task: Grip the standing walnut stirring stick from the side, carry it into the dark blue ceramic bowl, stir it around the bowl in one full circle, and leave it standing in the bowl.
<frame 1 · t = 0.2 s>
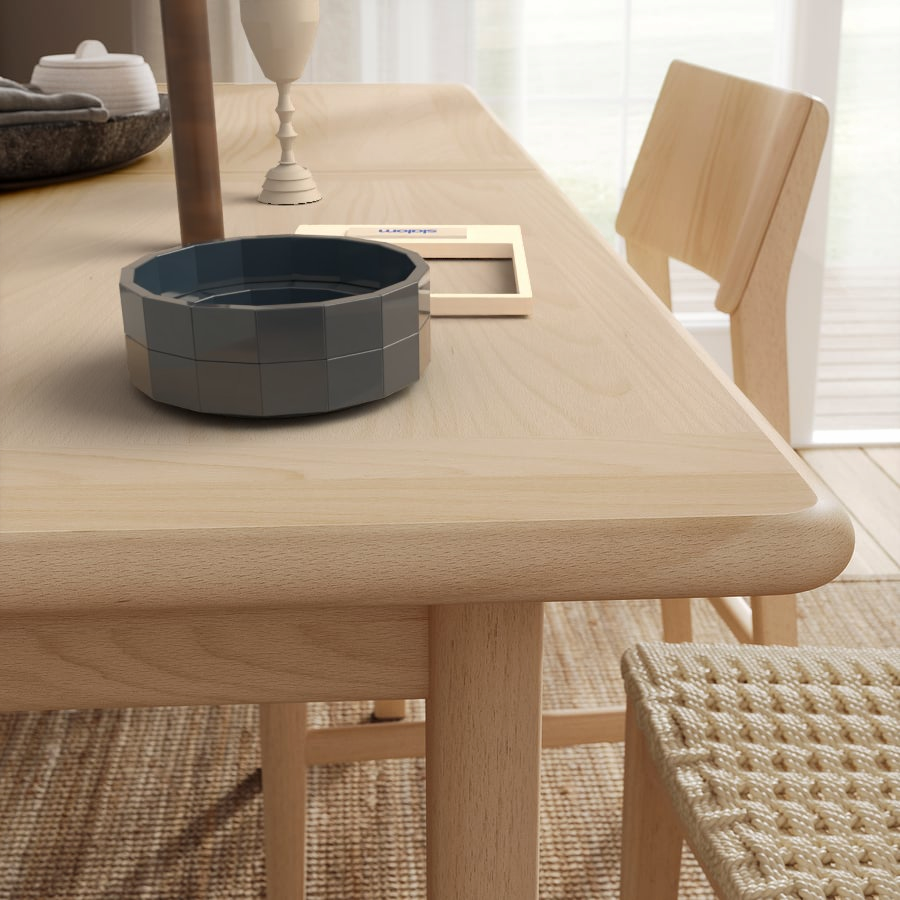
chalice: (290, 200, 92), on the table
photo frame: (402, 275, 70), on the table
bowl: (282, 375, 53), on the table
stirring stick: (203, 247, 77), on the table
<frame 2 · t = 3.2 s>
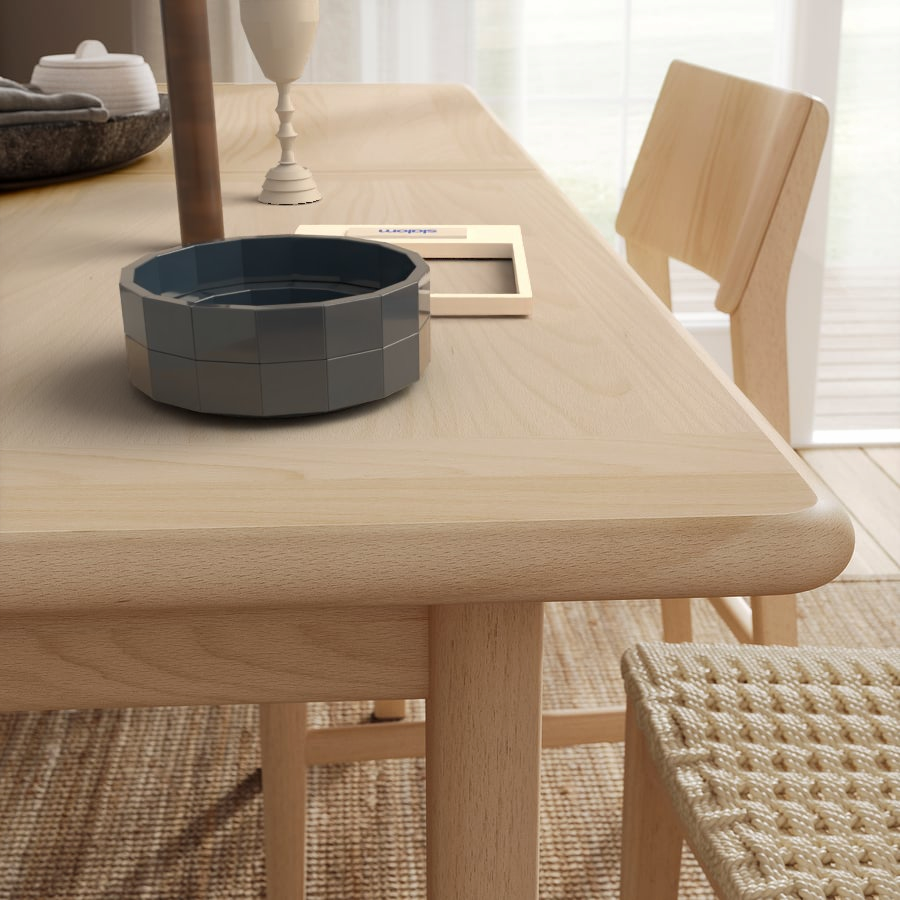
nothing on the table moved.
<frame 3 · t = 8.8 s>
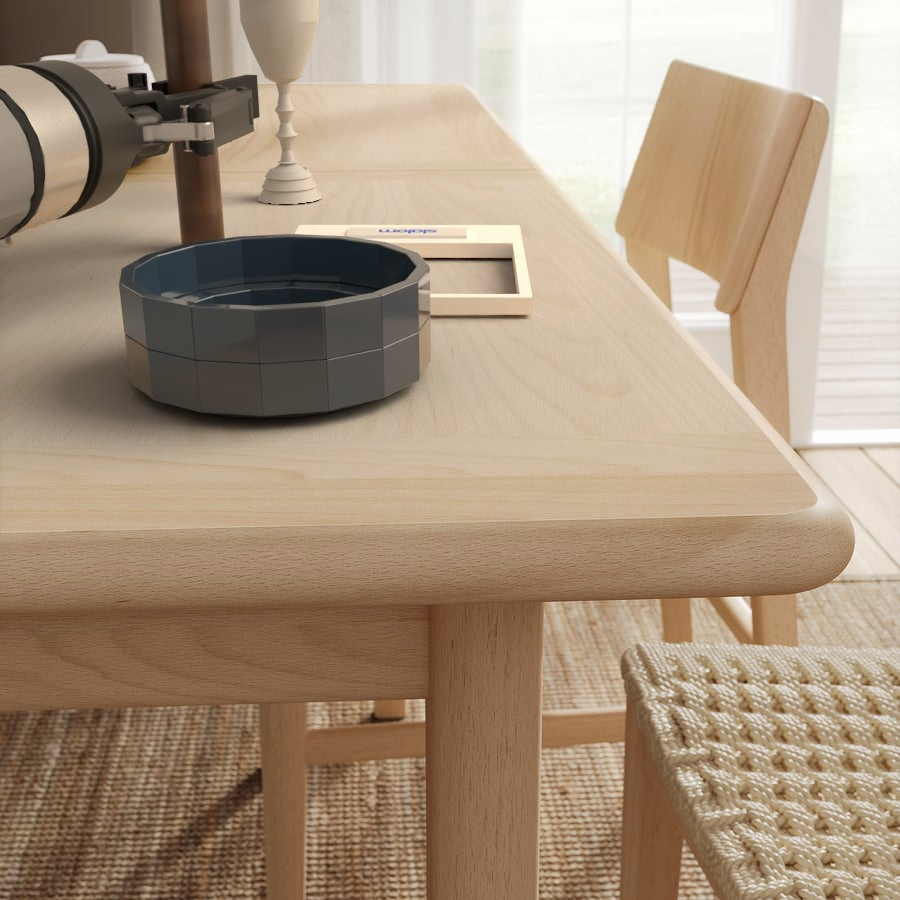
hand: (228, 95, 78), 9 cm above the table, tool horizontal, fingers closed on stirring stick, 3 cm apart
stirring stick: (203, 247, 77), on the table, touching gripper
everything else where it was.
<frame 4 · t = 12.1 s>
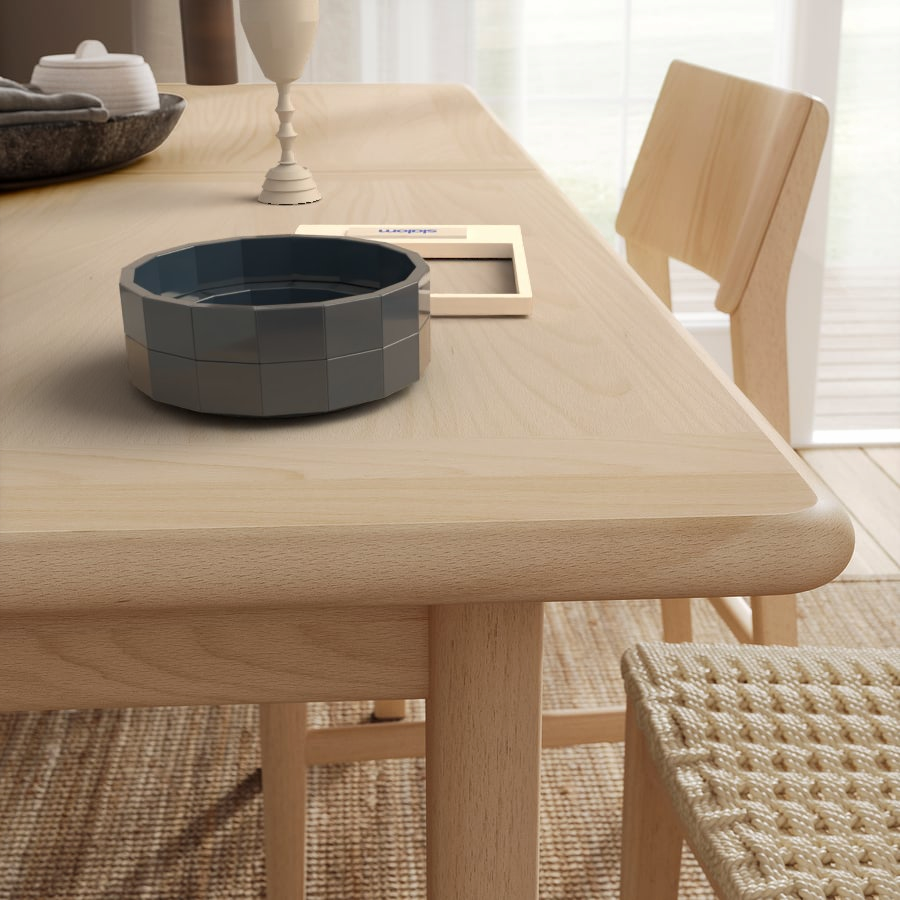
stirring stick: (212, 83, 63), point 11 cm above the table, touching gripper
everything else where it was.
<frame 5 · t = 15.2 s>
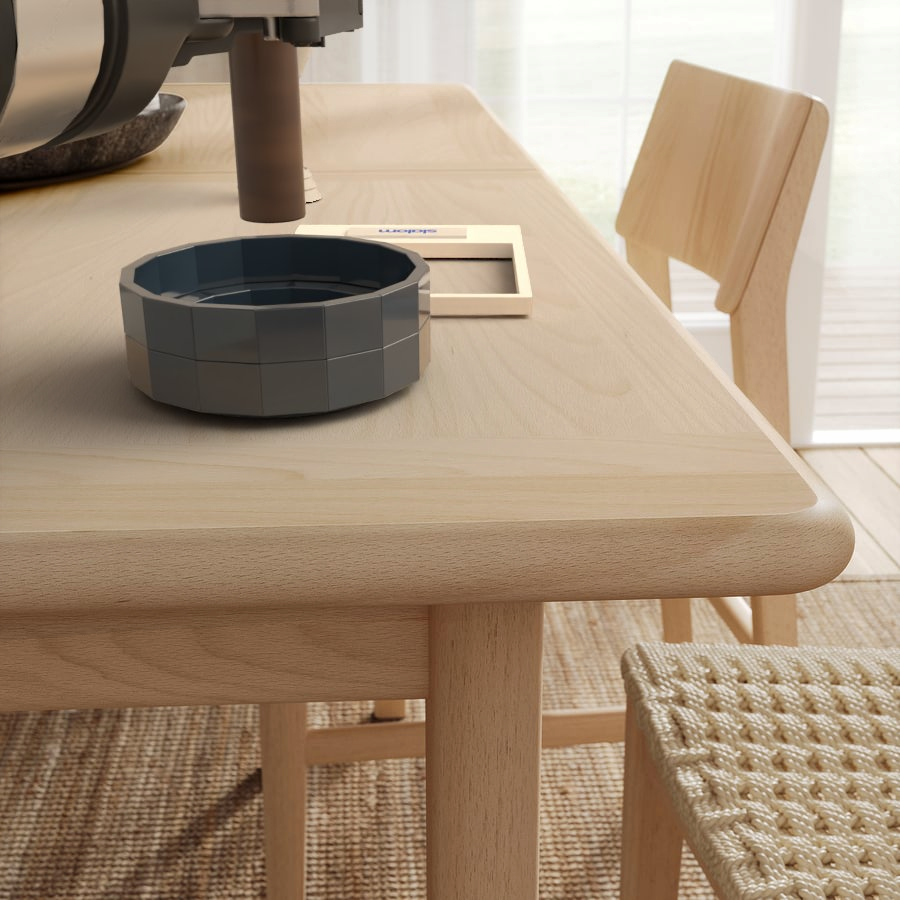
stirring stick: (273, 217, 50), point 7 cm above the table, touching gripper
everything else where it was.
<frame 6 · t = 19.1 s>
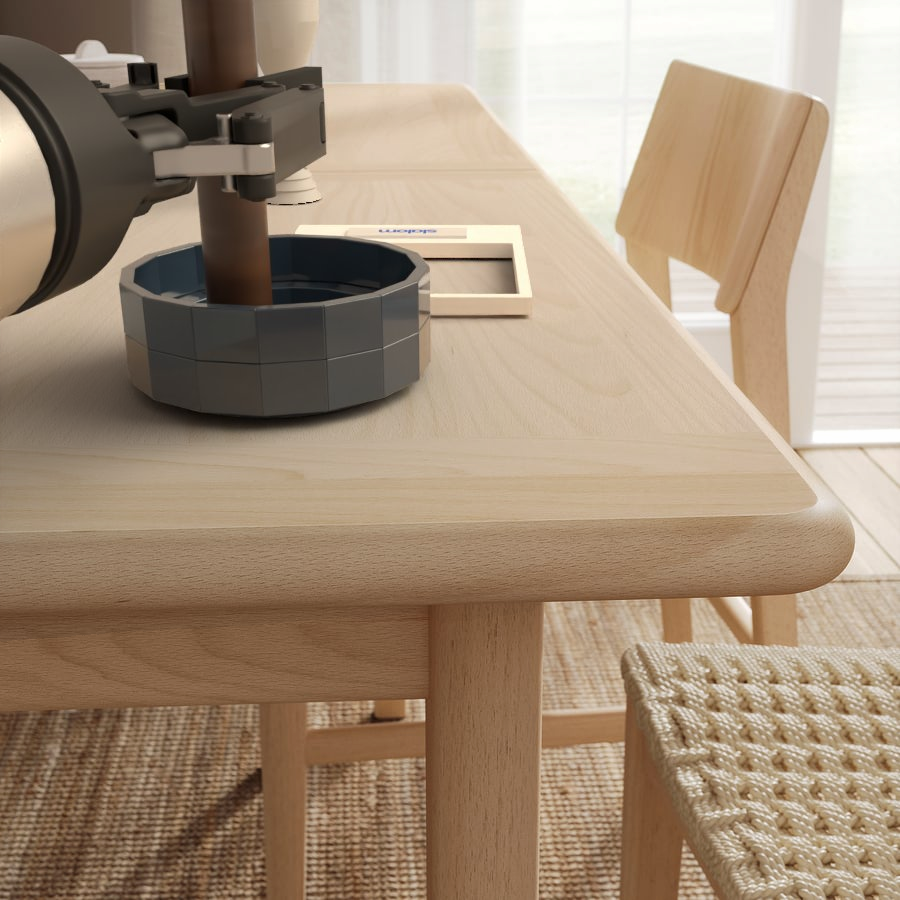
hand: (277, 97, 52), 12 cm above the table, tool horizontal, fingers closed on stirring stick, 3 cm apart
stirring stick: (241, 325, 51), point 3 cm above the table, touching gripper
everything else where it was.
when the fingers open (10 cm above the table, at t = 21.7 s): stirring stick stays where it is, resting on bowl.
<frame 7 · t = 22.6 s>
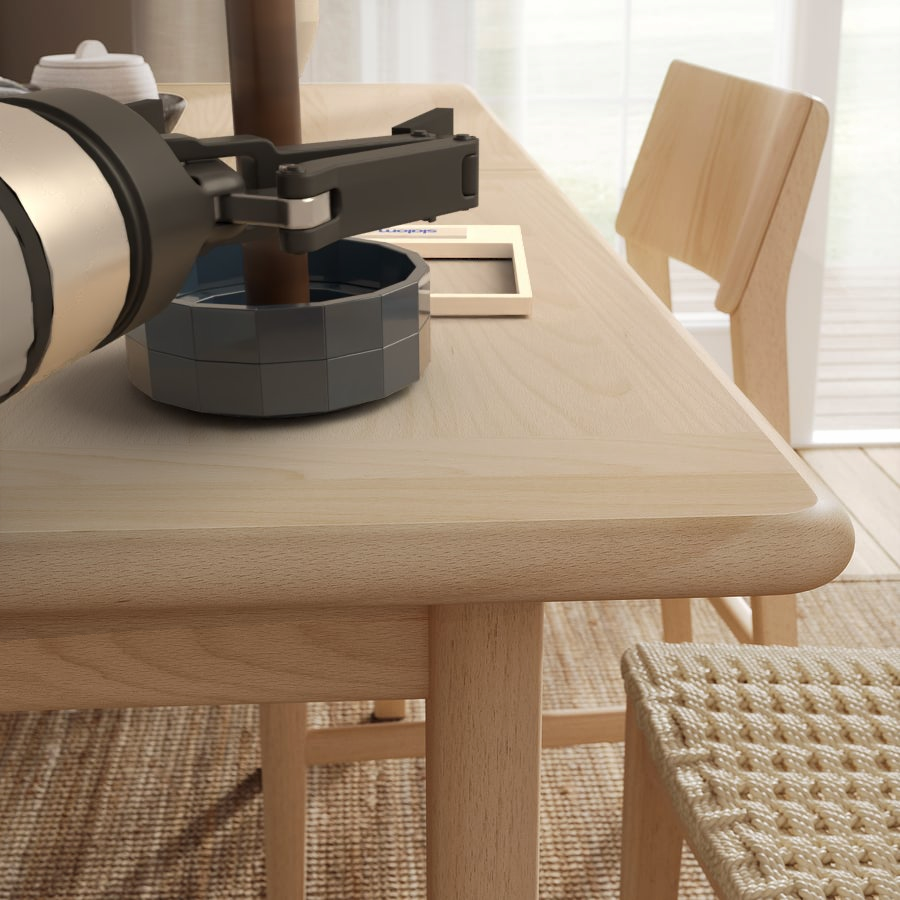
hand: (297, 134, 52), 10 cm above the table, tool horizontal, fingers open, 13 cm apart
stirring stick: (281, 363, 53), point 1 cm above the table, touching bowl
everything else where it was.
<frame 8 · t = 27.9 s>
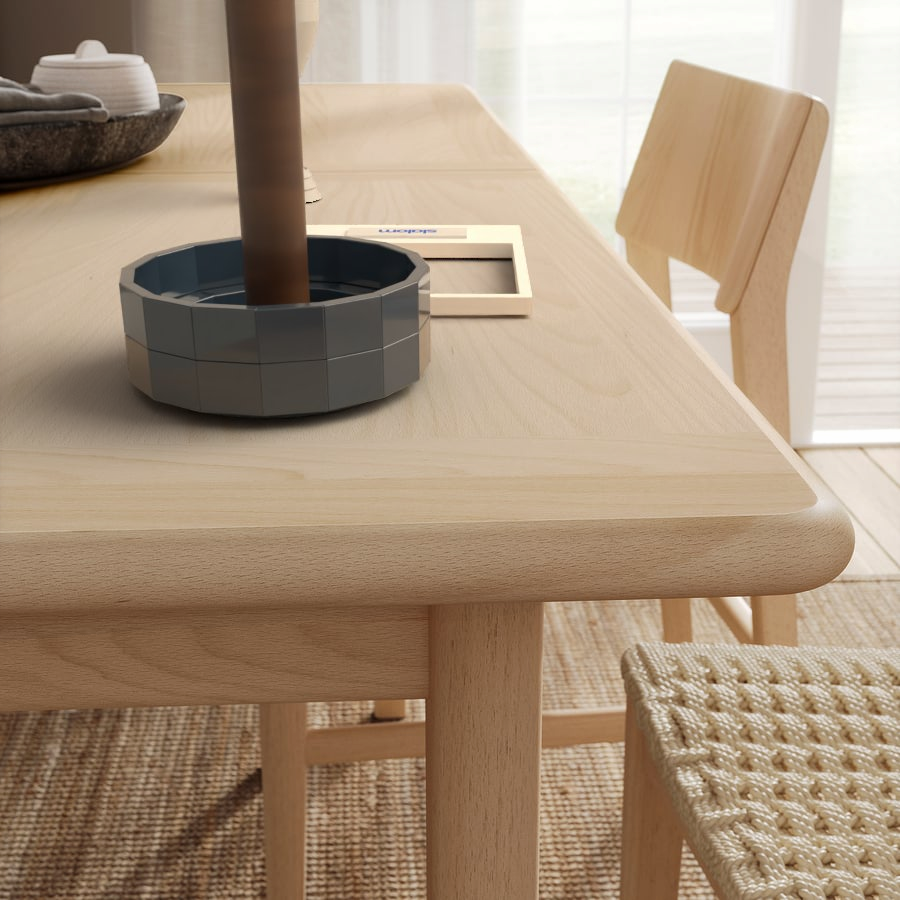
nothing on the table moved.
at the end: stirring stick inside the target area in the bowl (0.1 cm from its centre), point 0.6 cm above the bowl's base; the gripper is holding nothing; stirring stick moved 27.1 cm from its start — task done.
